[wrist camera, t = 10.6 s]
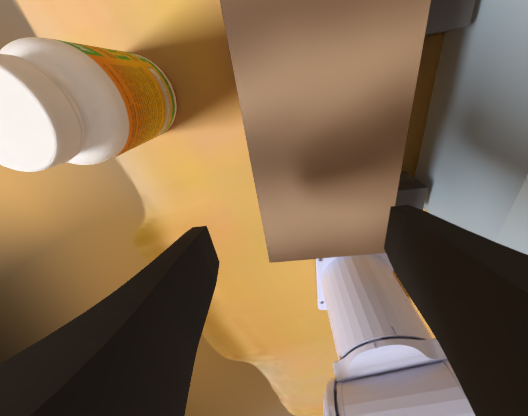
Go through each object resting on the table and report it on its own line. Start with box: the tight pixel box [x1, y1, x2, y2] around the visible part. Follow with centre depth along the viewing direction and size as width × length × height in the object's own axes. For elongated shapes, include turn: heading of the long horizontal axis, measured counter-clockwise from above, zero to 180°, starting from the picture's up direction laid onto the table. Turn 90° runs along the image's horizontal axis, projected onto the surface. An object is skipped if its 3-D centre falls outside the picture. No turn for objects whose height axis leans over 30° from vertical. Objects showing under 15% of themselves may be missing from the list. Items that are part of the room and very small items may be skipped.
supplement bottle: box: [0, 37, 177, 172], centre depth 12 cm, size 5×5×10 cm
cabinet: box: [220, 0, 476, 262], centre depth 13 cm, size 15×17×6 cm
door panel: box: [414, 0, 528, 255], centre depth 12 cm, size 14×4×8 cm, turn 9°
